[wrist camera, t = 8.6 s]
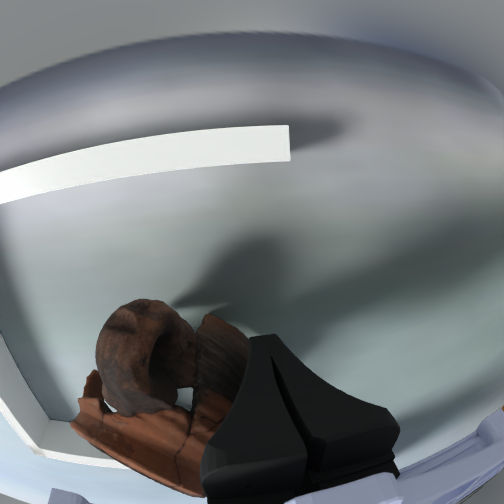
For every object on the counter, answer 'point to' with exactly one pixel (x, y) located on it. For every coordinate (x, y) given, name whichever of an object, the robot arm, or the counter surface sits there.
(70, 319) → the counter surface
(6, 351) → the u-shaped white bracket
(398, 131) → the counter surface
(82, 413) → the pottery mug
